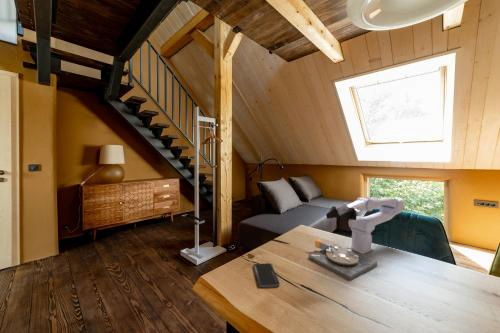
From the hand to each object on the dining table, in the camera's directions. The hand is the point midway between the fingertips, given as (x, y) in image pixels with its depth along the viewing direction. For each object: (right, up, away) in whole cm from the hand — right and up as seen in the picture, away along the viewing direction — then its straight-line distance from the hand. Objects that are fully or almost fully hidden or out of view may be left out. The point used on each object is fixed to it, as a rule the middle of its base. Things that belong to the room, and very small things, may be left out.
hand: (333, 217), depth 96 cm
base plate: (+3, -19, -2) cm, 20 cm away
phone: (-32, -20, -13) cm, 40 cm away
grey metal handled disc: (+1, -17, +1) cm, 17 cm away
